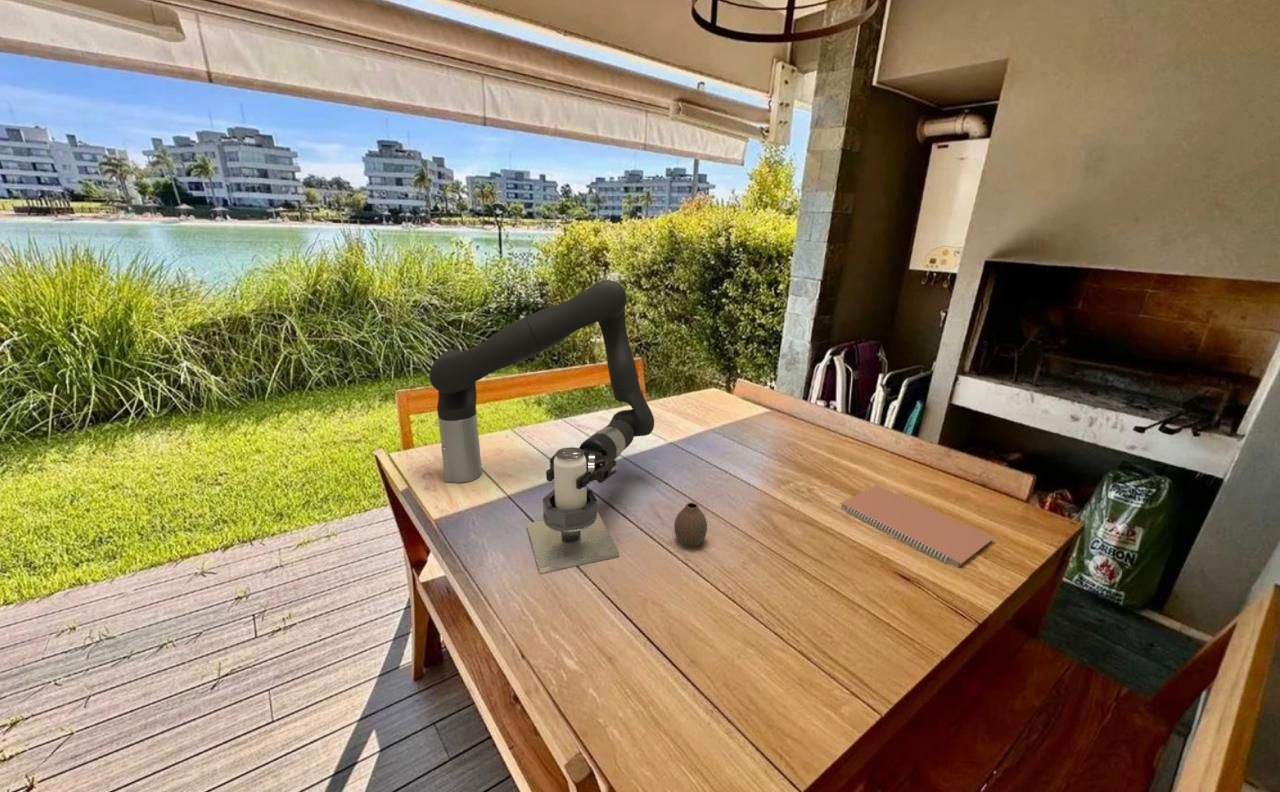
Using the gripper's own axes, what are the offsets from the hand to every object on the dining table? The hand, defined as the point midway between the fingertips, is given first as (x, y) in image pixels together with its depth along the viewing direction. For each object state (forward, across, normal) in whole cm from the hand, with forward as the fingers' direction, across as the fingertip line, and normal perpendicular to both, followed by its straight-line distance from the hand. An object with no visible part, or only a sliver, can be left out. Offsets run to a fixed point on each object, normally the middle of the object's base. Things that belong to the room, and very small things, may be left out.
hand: (562, 481), depth 98 cm
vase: (-13, +23, +16) cm, 31 cm away
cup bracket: (-2, 0, +16) cm, 16 cm away
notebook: (-42, +67, +17) cm, 80 cm away
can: (-3, 0, +7) cm, 8 cm away
